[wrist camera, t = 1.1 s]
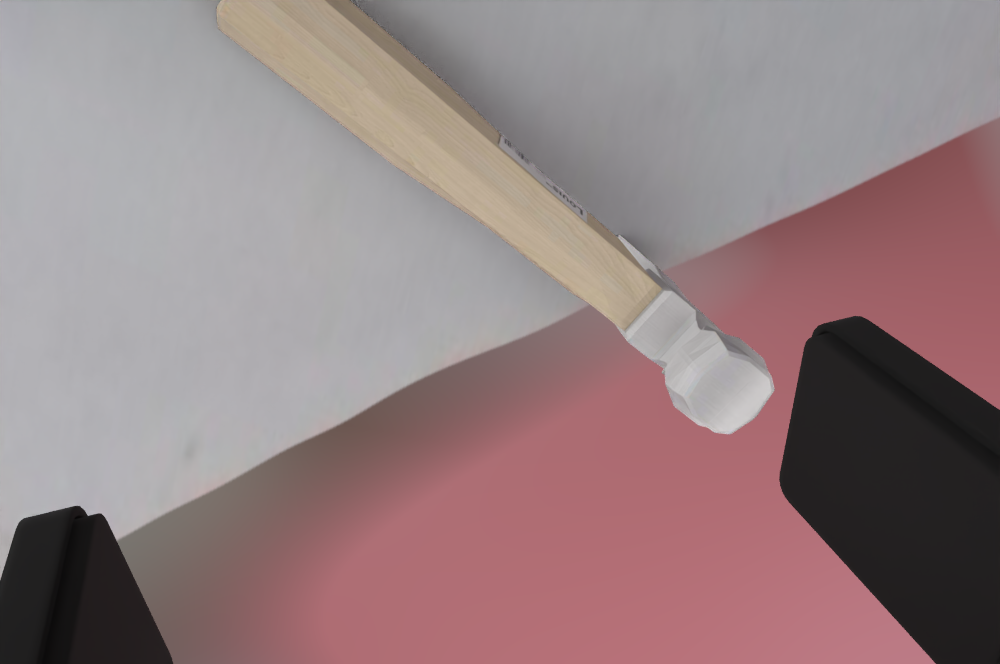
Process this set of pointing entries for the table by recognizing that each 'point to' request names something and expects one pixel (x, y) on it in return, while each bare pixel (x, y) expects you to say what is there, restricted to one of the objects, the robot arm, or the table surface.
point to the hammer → (498, 192)
